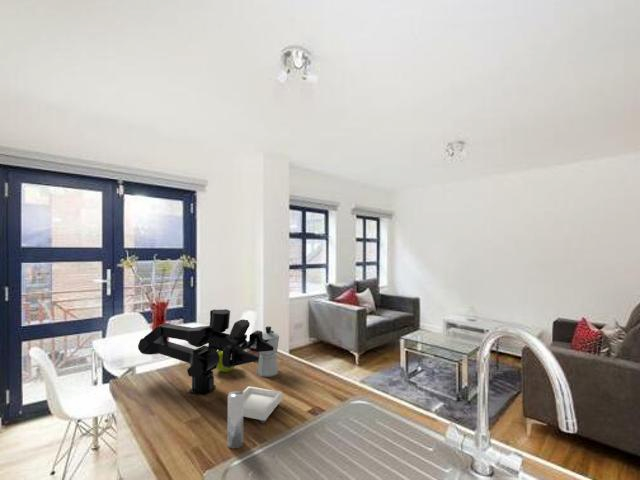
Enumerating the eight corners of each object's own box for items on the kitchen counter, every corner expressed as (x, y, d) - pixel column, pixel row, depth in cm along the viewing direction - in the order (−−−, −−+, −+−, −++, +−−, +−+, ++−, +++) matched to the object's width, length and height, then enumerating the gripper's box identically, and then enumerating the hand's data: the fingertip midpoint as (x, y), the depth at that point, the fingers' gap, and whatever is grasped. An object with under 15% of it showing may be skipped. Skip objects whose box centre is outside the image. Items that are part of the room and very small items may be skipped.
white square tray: (228, 418, 93) (228, 404, 93) (248, 398, 105) (248, 386, 105) (264, 426, 90) (264, 412, 90) (281, 404, 101) (281, 391, 101)
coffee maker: (276, 379, 118) (277, 332, 118) (253, 379, 118) (253, 331, 118) (281, 363, 133) (282, 321, 133) (261, 362, 133) (261, 320, 133)
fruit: (234, 375, 121) (234, 350, 121) (210, 375, 121) (210, 349, 121) (240, 365, 130) (241, 341, 130) (218, 365, 130) (218, 341, 130)
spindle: (224, 447, 81) (224, 397, 81) (232, 437, 85) (233, 389, 84) (237, 450, 80) (238, 399, 79) (246, 440, 84) (246, 392, 83)
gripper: (208, 326, 97) (251, 338, 91) (244, 312, 114) (282, 321, 109) (205, 362, 97) (248, 375, 92) (241, 342, 115) (279, 352, 109)
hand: (266, 353), depth 100 cm, fingers open, 9 cm apart
